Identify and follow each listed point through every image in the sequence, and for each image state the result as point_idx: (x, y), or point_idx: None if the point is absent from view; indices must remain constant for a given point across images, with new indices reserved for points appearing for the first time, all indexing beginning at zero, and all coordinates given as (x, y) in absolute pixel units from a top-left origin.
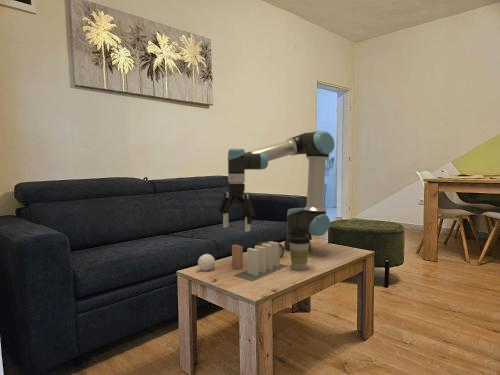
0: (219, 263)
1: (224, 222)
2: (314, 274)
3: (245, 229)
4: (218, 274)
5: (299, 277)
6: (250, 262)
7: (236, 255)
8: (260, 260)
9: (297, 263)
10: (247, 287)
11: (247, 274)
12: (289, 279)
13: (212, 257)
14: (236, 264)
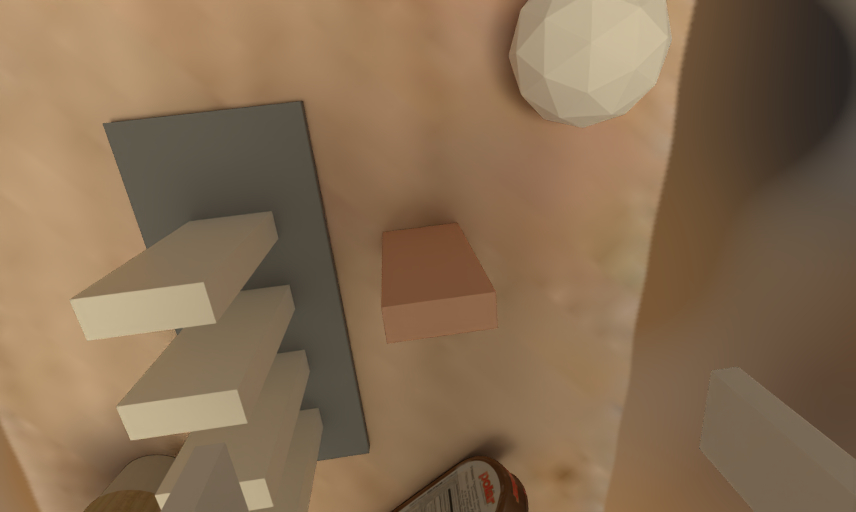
0: (602, 225)
1: (790, 440)
2: (38, 488)
3: (202, 473)
4: (428, 64)
5: (40, 404)
6: (210, 241)
7: (424, 264)
8: (207, 331)
9: (99, 498)
10: (58, 38)
11: (251, 196)
12: (42, 343)
13: (556, 79)
14: (419, 239)
